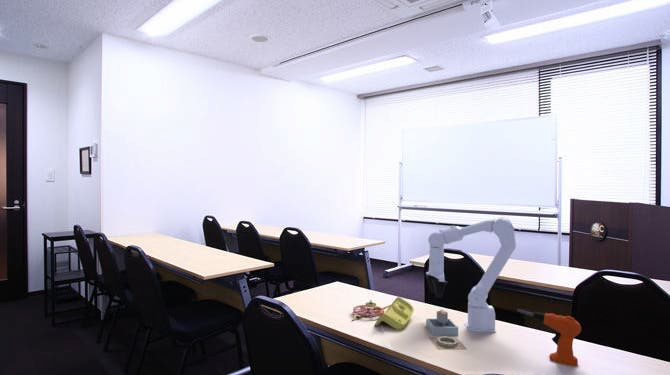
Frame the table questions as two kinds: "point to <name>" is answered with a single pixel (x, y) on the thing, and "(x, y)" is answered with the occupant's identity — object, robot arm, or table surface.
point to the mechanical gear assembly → (368, 310)
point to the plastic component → (397, 314)
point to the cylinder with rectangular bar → (442, 318)
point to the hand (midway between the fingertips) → (435, 295)
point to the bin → (441, 328)
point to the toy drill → (560, 335)
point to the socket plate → (447, 343)
